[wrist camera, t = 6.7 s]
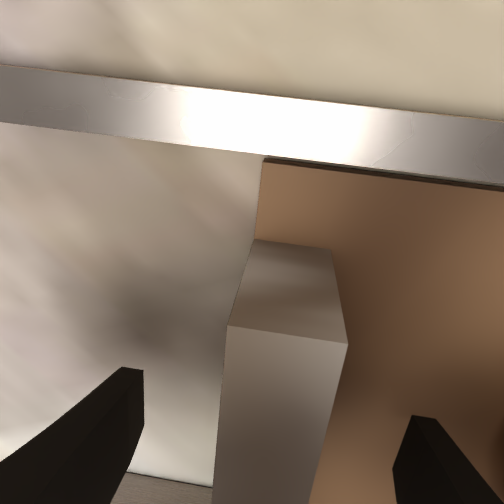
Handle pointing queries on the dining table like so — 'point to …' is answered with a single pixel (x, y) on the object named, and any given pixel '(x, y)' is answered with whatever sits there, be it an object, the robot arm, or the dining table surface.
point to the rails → (249, 148)
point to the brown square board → (360, 334)
